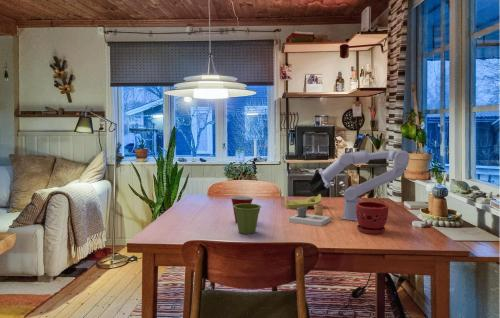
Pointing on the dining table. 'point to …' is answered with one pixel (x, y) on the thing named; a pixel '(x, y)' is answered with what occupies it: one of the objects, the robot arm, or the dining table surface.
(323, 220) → the housing
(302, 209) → the charcoal flared cup
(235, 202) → the plastic cup
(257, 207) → the plant pot
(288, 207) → the plastic component
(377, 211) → the plant pot
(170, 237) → the dining table surface
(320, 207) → the tan rubber stopper
